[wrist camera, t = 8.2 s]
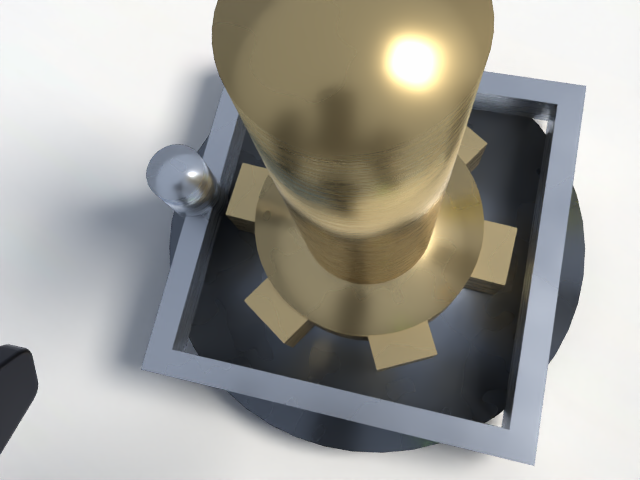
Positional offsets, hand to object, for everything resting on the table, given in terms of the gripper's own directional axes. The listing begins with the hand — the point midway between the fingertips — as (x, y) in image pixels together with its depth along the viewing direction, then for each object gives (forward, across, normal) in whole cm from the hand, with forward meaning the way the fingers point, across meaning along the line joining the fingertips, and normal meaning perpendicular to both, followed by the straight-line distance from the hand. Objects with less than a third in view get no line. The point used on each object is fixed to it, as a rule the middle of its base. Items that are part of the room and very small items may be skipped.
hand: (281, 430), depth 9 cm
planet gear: (+11, 0, +2) cm, 11 cm away
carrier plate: (+12, 0, +3) cm, 12 cm away
